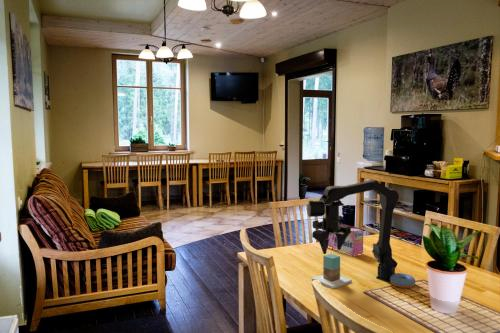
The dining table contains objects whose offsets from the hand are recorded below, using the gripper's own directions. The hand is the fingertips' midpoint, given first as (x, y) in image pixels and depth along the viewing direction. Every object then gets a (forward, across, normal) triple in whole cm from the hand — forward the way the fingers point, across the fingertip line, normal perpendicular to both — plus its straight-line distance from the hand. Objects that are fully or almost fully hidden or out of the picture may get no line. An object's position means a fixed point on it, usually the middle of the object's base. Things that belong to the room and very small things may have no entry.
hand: (331, 251), depth 171 cm
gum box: (+13, -40, -26) cm, 49 cm away
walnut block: (+12, 0, 0) cm, 12 cm away
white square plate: (+13, 0, 0) cm, 13 cm away
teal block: (+7, 0, 0) cm, 7 cm away
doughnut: (+13, -20, +21) cm, 32 cm away
